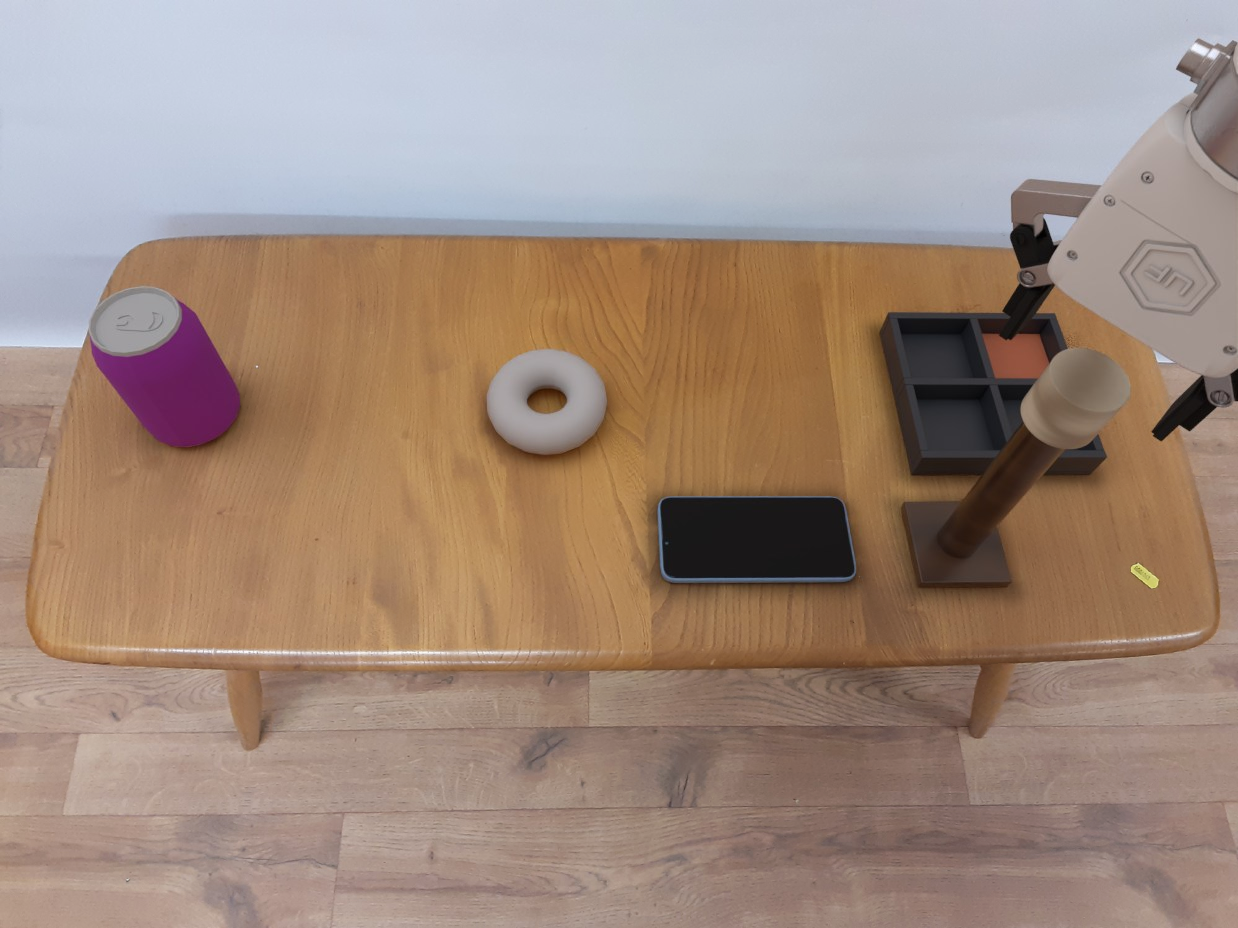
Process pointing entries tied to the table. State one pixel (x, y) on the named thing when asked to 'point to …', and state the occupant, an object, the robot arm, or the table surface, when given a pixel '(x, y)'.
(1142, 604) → the table surface
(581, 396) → the donut
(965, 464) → the grid
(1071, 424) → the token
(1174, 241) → the robot arm
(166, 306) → the beverage can
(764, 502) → the smartphone
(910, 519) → the stand
